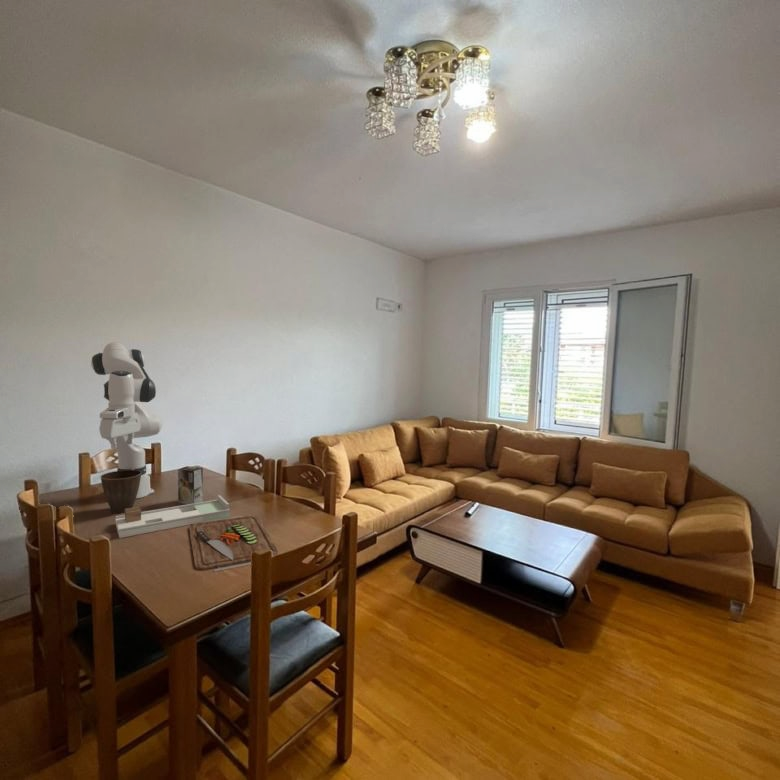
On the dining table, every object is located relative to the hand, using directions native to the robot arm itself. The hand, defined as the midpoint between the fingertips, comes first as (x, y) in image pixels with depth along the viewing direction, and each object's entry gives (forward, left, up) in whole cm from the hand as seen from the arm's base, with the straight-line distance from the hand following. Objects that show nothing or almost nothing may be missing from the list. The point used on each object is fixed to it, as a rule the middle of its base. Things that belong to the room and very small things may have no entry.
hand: (122, 446), depth 167 cm
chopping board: (+39, +31, -32) cm, 59 cm away
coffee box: (-13, +28, -32) cm, 44 cm away
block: (+5, +3, -29) cm, 30 cm away
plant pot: (-17, +1, -32) cm, 36 cm away
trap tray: (+8, +18, -32) cm, 37 cm away
